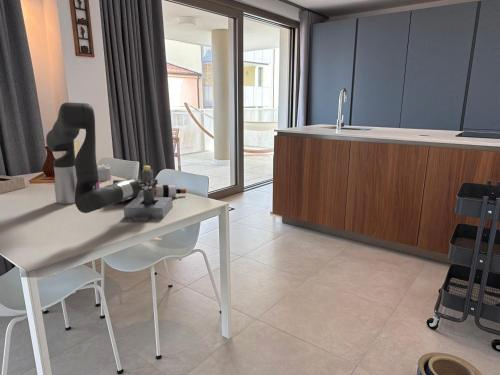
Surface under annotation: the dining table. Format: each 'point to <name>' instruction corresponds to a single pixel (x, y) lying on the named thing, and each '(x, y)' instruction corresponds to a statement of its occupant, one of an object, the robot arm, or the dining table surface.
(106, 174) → the lumpy-topped squat cylinder
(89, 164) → the robot arm
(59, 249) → the dining table surface
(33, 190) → the dining table surface
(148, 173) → the grey bottle
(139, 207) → the housing
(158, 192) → the banded tapered cylinder
